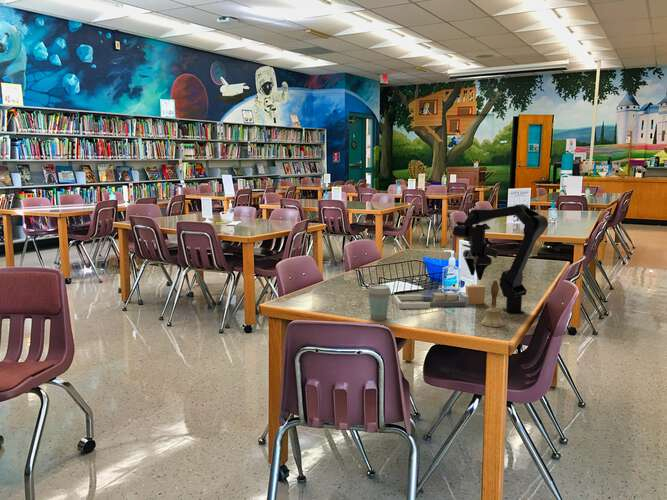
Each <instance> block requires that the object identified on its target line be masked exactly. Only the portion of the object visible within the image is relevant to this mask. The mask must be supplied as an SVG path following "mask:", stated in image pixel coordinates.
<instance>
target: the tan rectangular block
mask: <svg viewBox="0 0 667 500" xmlns="http://www.w3.org/2000/svg"><path fill="white" fill-rule="evenodd" d="M485 291H486V286H485V285H482V284H481V285H465V292H460V293H459V301H465V302H466V306H469V305H480V304H481V305H482V304H485V297H486V296H485V294H486V293H485Z"/></svg>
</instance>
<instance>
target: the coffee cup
mask: <svg viewBox="0 0 667 500" xmlns="http://www.w3.org/2000/svg"><path fill="white" fill-rule="evenodd" d="M367 293H368V301H369V304H368V305H369V313H370V319H371V320H375V321H384V320H386V319H387V316H388V309H389V301H390V294H391V288H390V286H389V285H386V284H379V283H378V284H370V285H369V286H368V289H367Z"/></svg>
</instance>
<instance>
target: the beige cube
mask: <svg viewBox="0 0 667 500" xmlns="http://www.w3.org/2000/svg"><path fill="white" fill-rule="evenodd" d="M444 295H445V301H457V296H458V294H457V293H456V292H445V293H444Z"/></svg>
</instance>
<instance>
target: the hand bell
mask: <svg viewBox="0 0 667 500" xmlns="http://www.w3.org/2000/svg"><path fill="white" fill-rule="evenodd" d="M499 288H500V286H499V283H498V280H495V279H494V280H493V281H492V284H491V287H490V295H491V304H490V307H489V308H487V309H486V313H485V315H484V318H483V319H482V320H480V321H481V322H480V324H481V325H483V326H485V327H490V328H491V327H493V328H500V327H502V328H503V327H504V326H505V322H504V321H503V320H502V317H501V311H500V309H499V308H498V307H497V298H498V295H499Z"/></svg>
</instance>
